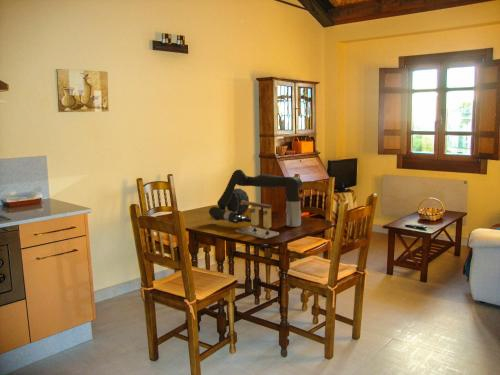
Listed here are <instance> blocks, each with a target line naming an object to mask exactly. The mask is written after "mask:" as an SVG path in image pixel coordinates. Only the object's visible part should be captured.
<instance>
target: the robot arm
mask: <svg viewBox="0 0 500 375" xmlns="http://www.w3.org/2000/svg"><path fill="white" fill-rule="evenodd" d="M236 186H239V187H256V188H257V187H258V188H265V189H267V188H268V189H276V188H277V189H278V188H284V190H285V191H284V192H285V198H286V226H287V227H290V228H291V227H293V228H296V227H300V226H301V225H302V211H301V196H300V195H299V190H300V189H301V187H303V181H302V179H301V178H300V177H299V176H280V175H273V174H266V173H264V174H263V173H262V174H258V175H257V176H249V175H246V174H245V172H244V171H243V170H242V169H235V171H234V172H232V175H231V176H230V179H229V180H228V183H227V185H226V188H225V189H224V191H223V193H222V195H221V196H220V198H219V199H218V200H217V204H216V205H217V206H212V207H210V208H209V209H208V214H209V215H210V217H211V218H213V219H214V221H220V220H221V221H225V222H228V223H232V224H238V223H251V218H250V216H249V215H248V214H247V215H244V214H239V213H238V212H234V211H228V210H227V205H228V203H229V202H230V200H231V198H232V194H233V191H234V189H236V188H235V187H236Z"/></svg>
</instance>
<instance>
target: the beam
mask: <svg viewBox="0 0 500 375" xmlns="http://www.w3.org/2000/svg"><path fill="white" fill-rule="evenodd" d="M243 204H244V205H249V206H250V207H251V206H256V207H259V208H268V209H270V208H271V209H272V205H271V204H266V203H261V202H255V201H253V202H252V201H249V202H248V201H245V200H243V201H241V205H243Z"/></svg>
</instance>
